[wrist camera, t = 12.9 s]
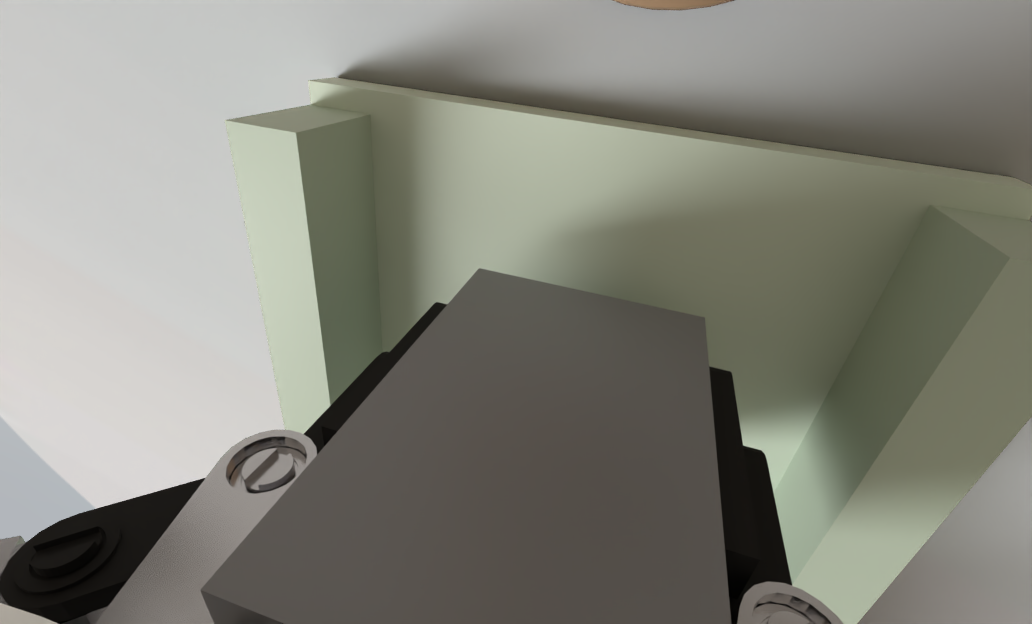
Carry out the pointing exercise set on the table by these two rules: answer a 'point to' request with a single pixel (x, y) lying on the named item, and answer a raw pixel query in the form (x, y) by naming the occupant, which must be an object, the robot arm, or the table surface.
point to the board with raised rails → (672, 285)
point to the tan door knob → (672, 4)
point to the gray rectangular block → (507, 478)
